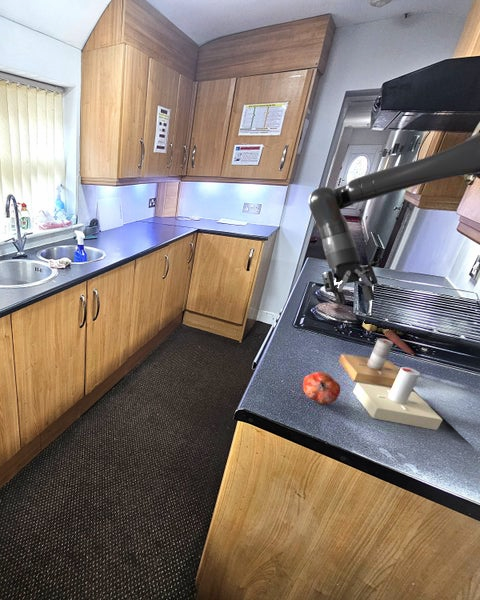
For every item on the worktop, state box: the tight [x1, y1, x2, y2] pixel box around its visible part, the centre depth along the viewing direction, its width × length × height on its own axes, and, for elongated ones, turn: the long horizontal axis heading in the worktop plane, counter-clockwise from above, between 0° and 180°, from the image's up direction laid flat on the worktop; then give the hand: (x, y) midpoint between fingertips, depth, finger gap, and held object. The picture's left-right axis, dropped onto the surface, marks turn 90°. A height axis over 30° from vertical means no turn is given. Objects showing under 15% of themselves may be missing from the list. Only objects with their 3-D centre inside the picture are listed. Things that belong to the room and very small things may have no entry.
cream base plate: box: [353, 382, 444, 431], centre depth 77 cm, size 12×10×3 cm
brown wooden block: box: [338, 353, 400, 388], centre depth 90 cm, size 12×10×3 cm
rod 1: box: [367, 337, 394, 370], centre depth 88 cm, size 3×3×8 cm
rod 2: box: [388, 366, 421, 404], centre depth 75 cm, size 3×3×8 cm
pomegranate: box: [302, 371, 341, 405], centre depth 80 cm, size 7×7×10 cm
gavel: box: [362, 321, 415, 356], centre depth 106 cm, size 21×5×10 cm
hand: (356, 302), depth 96 cm, fingers open, 8 cm apart
